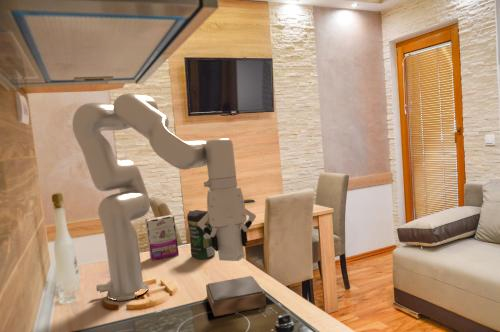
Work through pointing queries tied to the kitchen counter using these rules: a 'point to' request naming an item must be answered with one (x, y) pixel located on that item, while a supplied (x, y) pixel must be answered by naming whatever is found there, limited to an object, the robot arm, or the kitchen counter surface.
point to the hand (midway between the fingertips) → (230, 247)
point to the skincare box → (230, 242)
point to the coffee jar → (199, 236)
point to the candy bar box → (161, 237)
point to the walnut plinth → (235, 295)
